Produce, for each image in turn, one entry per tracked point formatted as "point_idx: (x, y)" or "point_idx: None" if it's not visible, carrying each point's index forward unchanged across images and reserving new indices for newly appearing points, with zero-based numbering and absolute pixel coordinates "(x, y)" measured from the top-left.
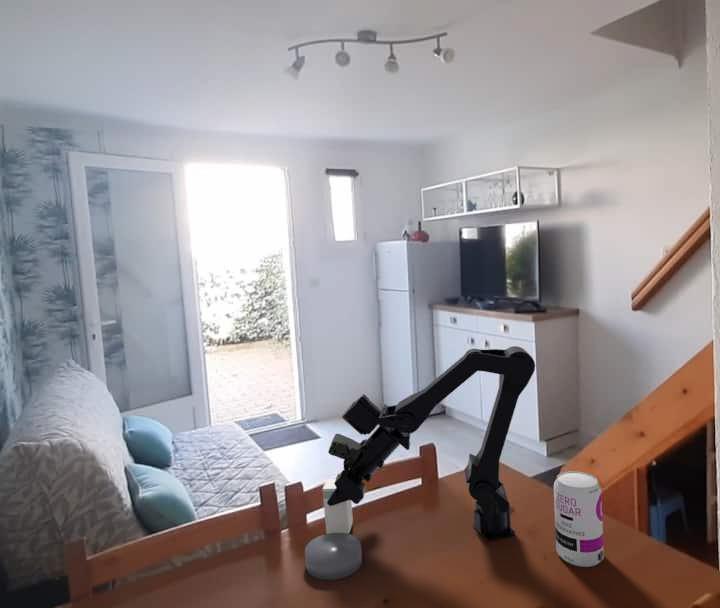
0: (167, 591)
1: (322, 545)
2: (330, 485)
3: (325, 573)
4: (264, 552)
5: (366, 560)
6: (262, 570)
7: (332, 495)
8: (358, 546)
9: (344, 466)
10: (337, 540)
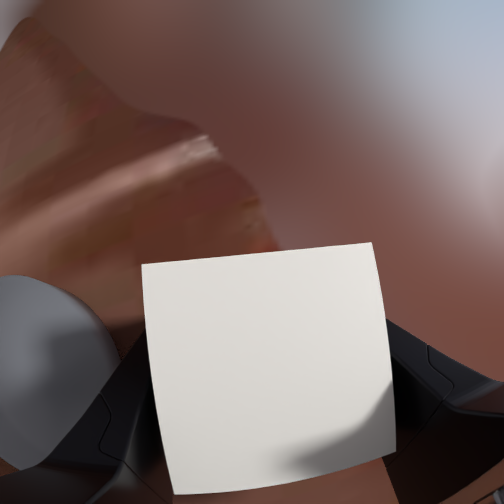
0: (9, 59)
1: (20, 337)
2: (228, 327)
3: None
4: (89, 138)
5: None
6: (16, 174)
7: (113, 376)
8: None
9: (491, 422)
10: (54, 392)
